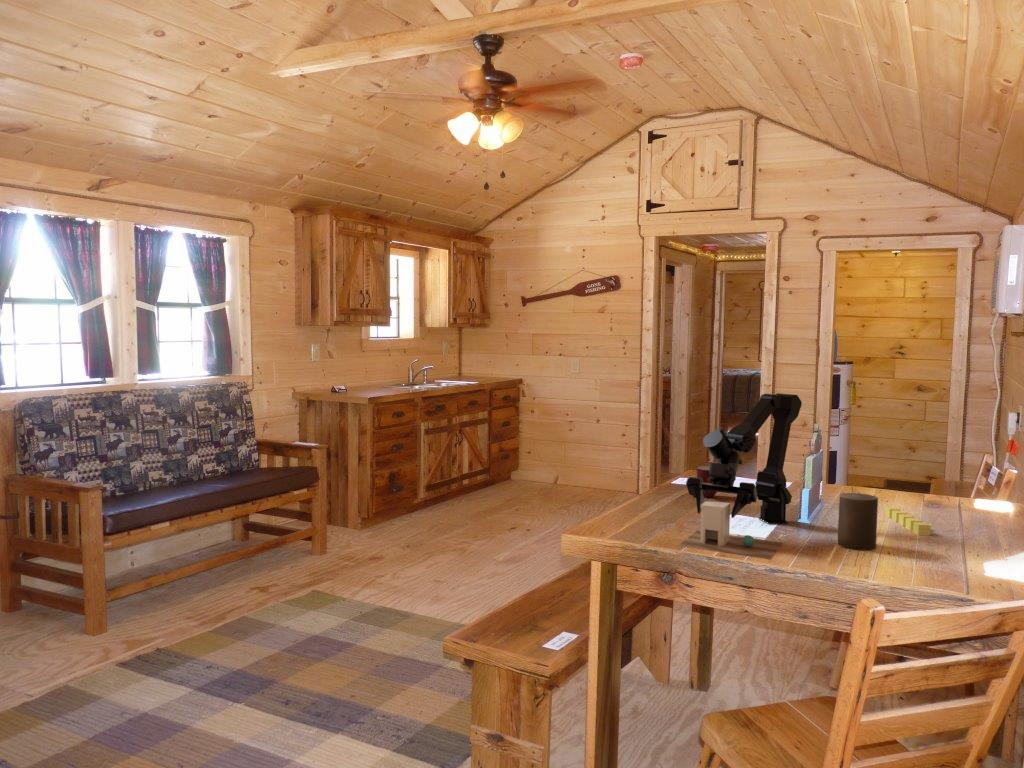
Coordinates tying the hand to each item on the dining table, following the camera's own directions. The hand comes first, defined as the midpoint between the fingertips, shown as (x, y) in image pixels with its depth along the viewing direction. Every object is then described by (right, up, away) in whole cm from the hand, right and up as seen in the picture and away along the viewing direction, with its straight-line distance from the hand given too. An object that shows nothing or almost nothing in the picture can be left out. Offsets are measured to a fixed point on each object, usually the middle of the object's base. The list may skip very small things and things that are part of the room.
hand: (715, 514), depth 214 cm
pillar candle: (+39, -9, 0) cm, 40 cm away
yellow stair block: (+66, -8, +24) cm, 70 cm away
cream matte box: (0, -7, +1) cm, 7 cm away
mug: (+13, -4, +59) cm, 61 cm away
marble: (+8, -6, -4) cm, 11 cm away
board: (+4, -8, -1) cm, 9 cm away
